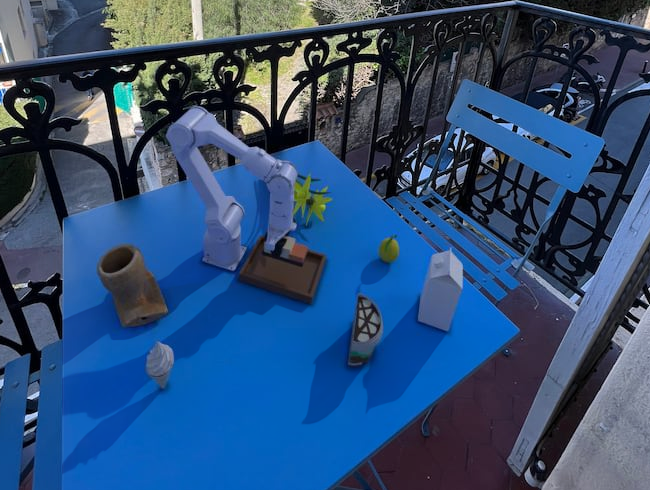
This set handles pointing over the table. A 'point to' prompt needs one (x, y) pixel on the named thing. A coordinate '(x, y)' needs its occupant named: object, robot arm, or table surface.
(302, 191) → the daffodil flowers
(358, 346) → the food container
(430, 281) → the milk carton
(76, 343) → the table surface
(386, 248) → the yellow pear
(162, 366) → the ice cream cone
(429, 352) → the table surface
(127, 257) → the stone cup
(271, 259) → the brown serving tray
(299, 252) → the beige and orange block
